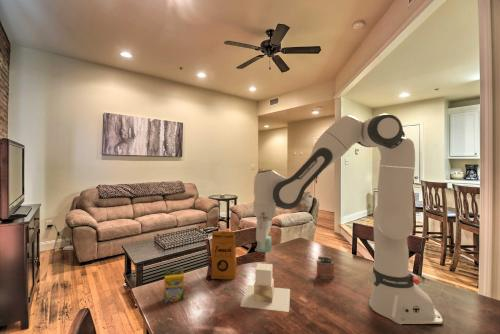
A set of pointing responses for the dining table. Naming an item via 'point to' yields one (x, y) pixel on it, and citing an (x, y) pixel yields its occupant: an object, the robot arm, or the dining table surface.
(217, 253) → the coffee package
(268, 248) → the teal rounded cube
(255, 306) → the white flat board
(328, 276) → the lighter
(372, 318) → the dining table surface
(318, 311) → the dining table surface
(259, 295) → the maple block
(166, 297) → the crayon box
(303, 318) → the dining table surface
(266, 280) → the white block
